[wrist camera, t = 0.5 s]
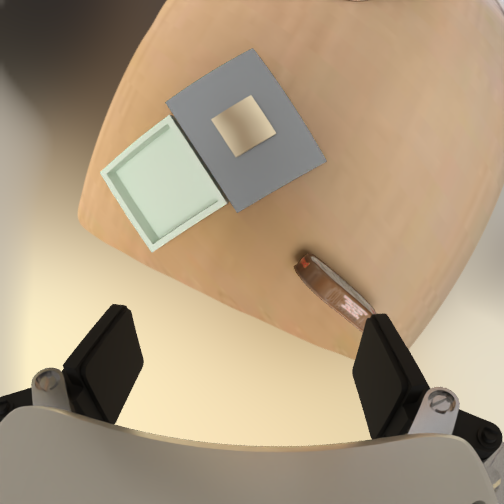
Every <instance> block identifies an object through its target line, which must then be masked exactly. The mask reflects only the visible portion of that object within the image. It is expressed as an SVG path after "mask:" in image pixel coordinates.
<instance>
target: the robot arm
mask: <svg viewBox="0 0 504 504" xmlns="http://www.w3.org/2000/svg"><path fill="white" fill-rule="evenodd" d="M352 1H365V0H352ZM143 362H144V361H143V356H142V353H141V349H140V345H139V341H138V338H137V334H136V330H135V326H134V321H133V318H132V313H131V311H130V310H129V309H128V308H127V306H124V305H117V304H113V305H111V306H110V308H109V309H108V310H107V311H106V312H105V314H104V315H103V316H102V317H101V318H100V319H99V321H98V322H97V323H96V324H95V325H94V327H93V328H92V329H91V330H90V331H89V333H88V334H87V335H86V336H85V338H84V339H83V340H82V341H81V342H80V344H79V345H78V346H77V348H76V349H75V350H74V351H73V353H72V354H71V355H70V356H69V358H68V359H67V360H66V362H65V363H64V364H63V367H64V369H63V370H62V372H61V371H60V370H59V369H56V368H46V369H43V370H41V371H40V372H38V373H37V374H36V375H35V376H34V378H33V379H32V384H31V385H32V388H28V389H26V390H22V391H19V392H16V393H12V394H9V395H5V396H2V397H0V504H504V442H502V433H501V431H500V429H499V428H498V427H497V426H496V425H495V424H493V423H491V422H489V421H486V420H484V419H481V418H479V417H476V416H474V415H472V414H469V413H467V412H464V411H462V410H460V409H459V400H458V398H457V396H456V395H455V394H454V393H453V392H452V391H451V390H449V389H447V388H443V387H434V388H431V389H430V387H429V386H428V384H427V382H426V380H425V378H424V376H423V374H422V373H421V371H420V369H419V367H418V365H417V364H416V362H415V360H414V359H413V357H412V355H411V353H410V351H409V350H408V348H407V347H406V345H405V344H404V342H403V340H402V339H401V337H400V335H399V334H398V332H397V330H396V329H395V327H394V325H393V324H392V322H391V320H390V319H389V317H388V316H387V314H372V315H371V317H370V318H367V320H366V323H365V327H364V330H363V334H362V338H361V342H360V345H359V349H358V352H357V356H356V359H355V363H354V366H353V378H354V381H355V384H356V388H357V391H358V394H359V398H360V401H361V404H362V407H363V411H364V414H365V418H366V421H367V425H368V429H369V432H370V436H371V438H372V440H365V441H358V442H348V443H338V444H327V445H313V446H279V447H278V446H242V445H228V444H217V443H208V442H200V441H192V440H185V439H178V438H173V437H167V436H161V435H156V434H151V433H146V432H142V431H138V430H134V429H129V428H125V427H122V426H118V425H114V424H115V423H116V421H117V419H118V417H119V414H120V412H121V410H122V408H123V406H124V404H125V402H126V400H127V398H128V396H129V393H130V391H131V389H132V387H133V385H134V383H135V381H136V379H137V377H138V375H139V373H140V371H141V369H142V367H143Z"/></svg>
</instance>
